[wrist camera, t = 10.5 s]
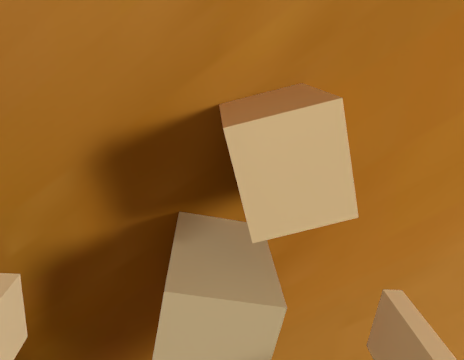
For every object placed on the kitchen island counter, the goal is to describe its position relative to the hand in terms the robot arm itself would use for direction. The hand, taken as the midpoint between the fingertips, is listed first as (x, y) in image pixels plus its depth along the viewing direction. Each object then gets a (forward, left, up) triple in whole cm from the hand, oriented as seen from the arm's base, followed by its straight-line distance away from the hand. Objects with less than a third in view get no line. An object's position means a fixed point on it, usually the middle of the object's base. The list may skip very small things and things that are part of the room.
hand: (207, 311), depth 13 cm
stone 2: (+6, -2, -5) cm, 8 cm away
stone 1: (0, 0, -5) cm, 5 cm away
